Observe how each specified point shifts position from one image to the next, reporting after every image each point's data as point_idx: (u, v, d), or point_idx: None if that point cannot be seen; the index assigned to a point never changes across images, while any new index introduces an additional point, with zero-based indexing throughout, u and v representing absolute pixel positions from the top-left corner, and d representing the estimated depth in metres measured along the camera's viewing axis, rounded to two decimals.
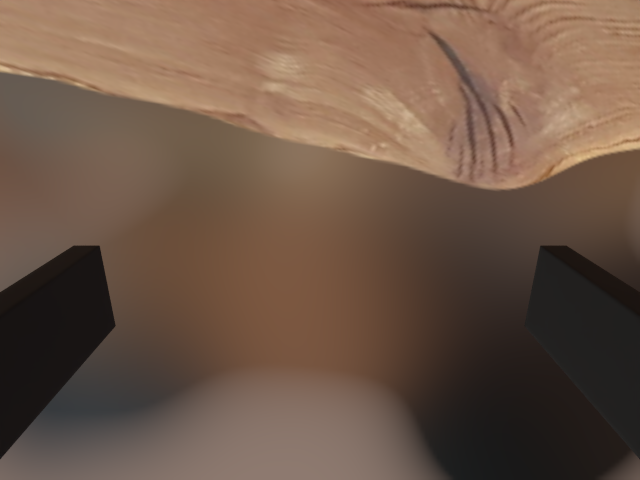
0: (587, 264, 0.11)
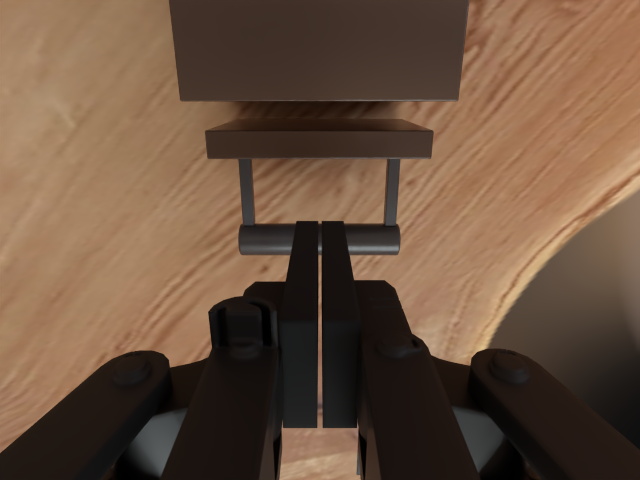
0: (338, 234, 0.13)
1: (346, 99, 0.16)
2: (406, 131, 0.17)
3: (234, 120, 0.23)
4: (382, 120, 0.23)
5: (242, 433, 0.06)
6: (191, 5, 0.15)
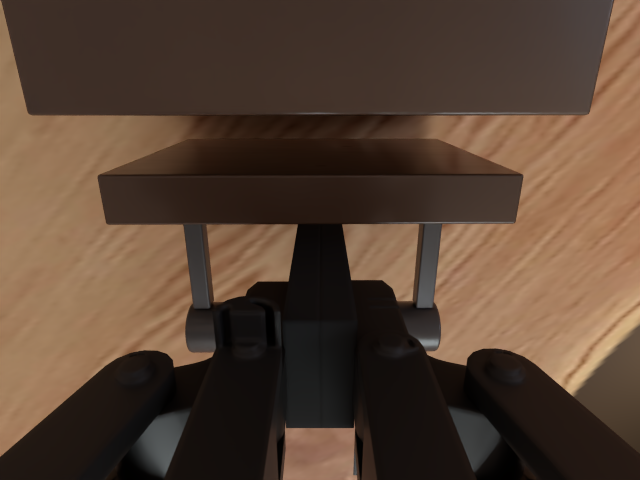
0: (336, 234, 0.13)
1: (365, 111, 0.08)
2: (473, 175, 0.09)
3: (181, 142, 0.15)
4: (410, 142, 0.15)
5: (246, 433, 0.06)
6: None
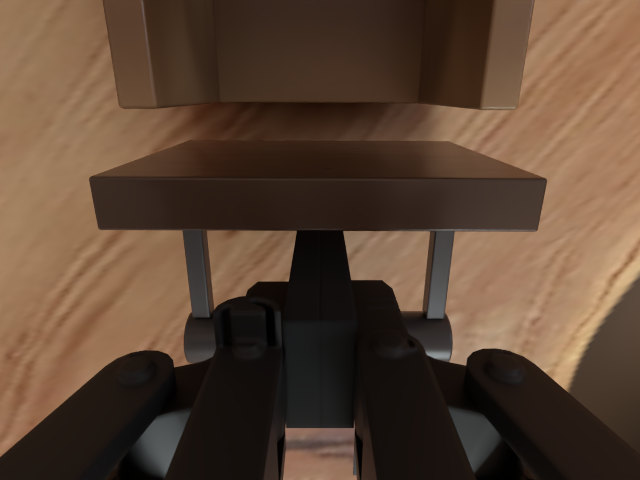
0: (336, 234, 0.13)
1: None
2: (493, 179, 0.09)
3: (182, 143, 0.14)
4: (420, 144, 0.14)
5: (246, 433, 0.06)
6: None
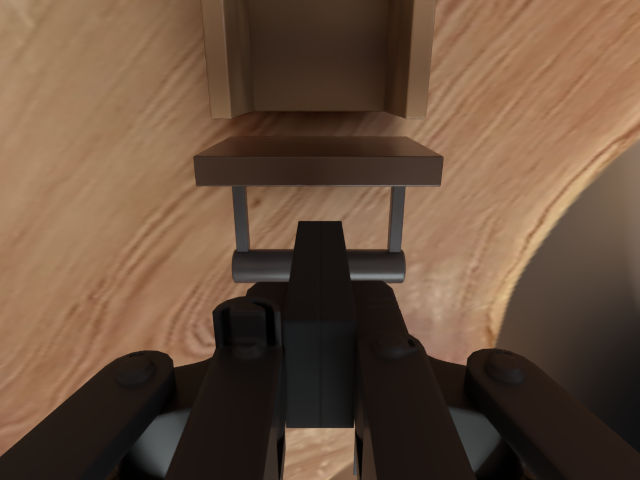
0: (336, 234, 0.13)
1: None
2: (413, 157, 0.16)
3: (227, 138, 0.21)
4: (386, 138, 0.21)
5: (246, 433, 0.06)
6: None
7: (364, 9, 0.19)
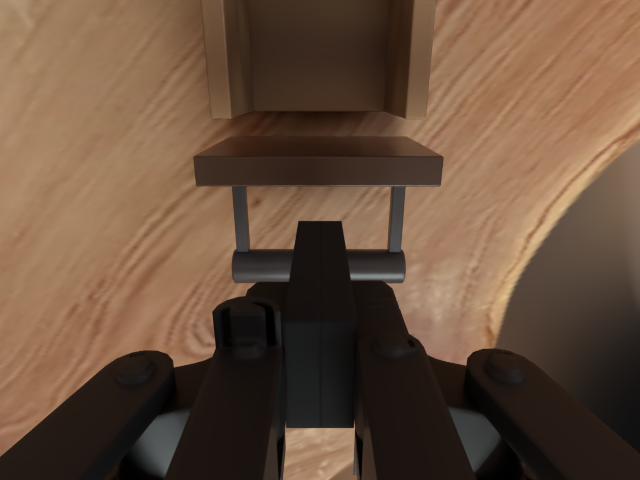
0: (336, 234, 0.13)
1: None
2: (413, 157, 0.16)
3: (227, 138, 0.21)
4: (386, 138, 0.21)
5: (246, 433, 0.06)
6: None
7: (364, 9, 0.19)
